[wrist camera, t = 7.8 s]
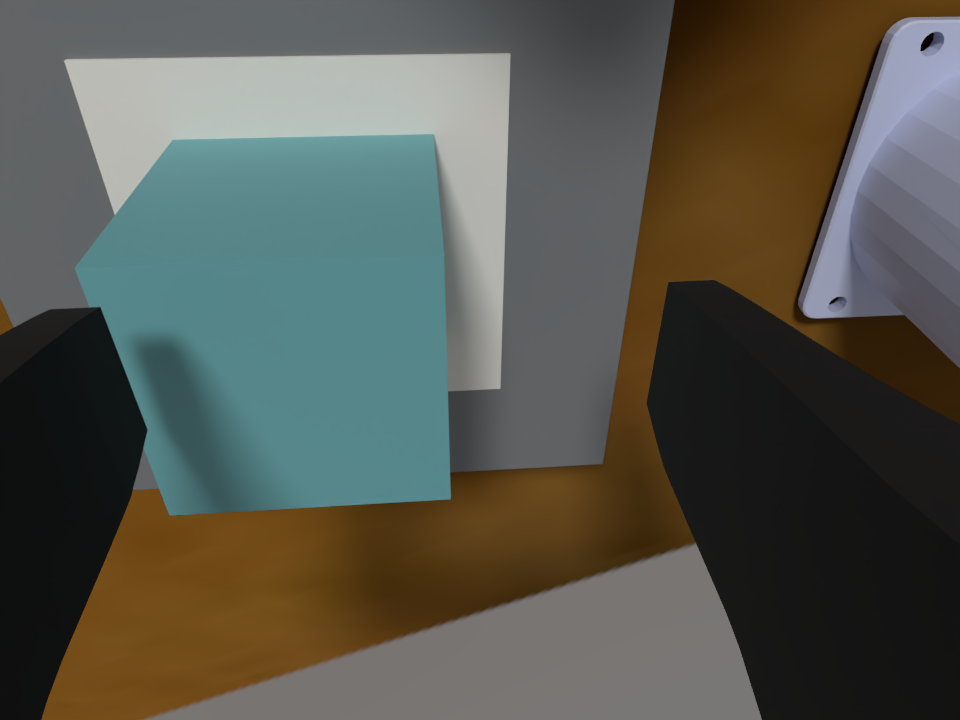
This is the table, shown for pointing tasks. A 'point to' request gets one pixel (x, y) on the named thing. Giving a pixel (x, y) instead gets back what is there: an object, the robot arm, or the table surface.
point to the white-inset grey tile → (361, 112)
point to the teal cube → (283, 321)
